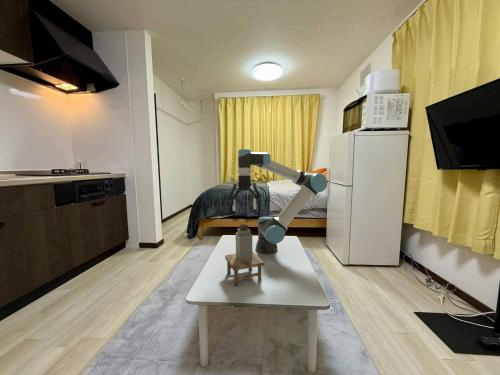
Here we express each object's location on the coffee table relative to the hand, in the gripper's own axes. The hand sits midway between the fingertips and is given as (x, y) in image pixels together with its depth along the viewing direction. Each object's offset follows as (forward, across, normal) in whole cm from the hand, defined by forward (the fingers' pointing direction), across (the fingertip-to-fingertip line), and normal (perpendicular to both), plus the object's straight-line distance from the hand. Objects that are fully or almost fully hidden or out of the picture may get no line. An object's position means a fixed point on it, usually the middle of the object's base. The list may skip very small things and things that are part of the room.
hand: (244, 209), depth 134 cm
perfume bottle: (+22, +8, +20) cm, 31 cm away
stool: (+32, +8, +20) cm, 38 cm away
